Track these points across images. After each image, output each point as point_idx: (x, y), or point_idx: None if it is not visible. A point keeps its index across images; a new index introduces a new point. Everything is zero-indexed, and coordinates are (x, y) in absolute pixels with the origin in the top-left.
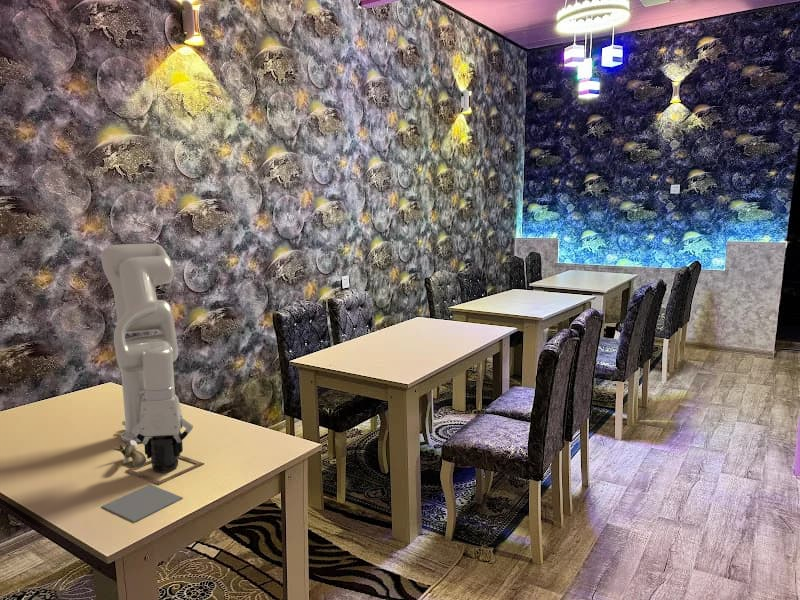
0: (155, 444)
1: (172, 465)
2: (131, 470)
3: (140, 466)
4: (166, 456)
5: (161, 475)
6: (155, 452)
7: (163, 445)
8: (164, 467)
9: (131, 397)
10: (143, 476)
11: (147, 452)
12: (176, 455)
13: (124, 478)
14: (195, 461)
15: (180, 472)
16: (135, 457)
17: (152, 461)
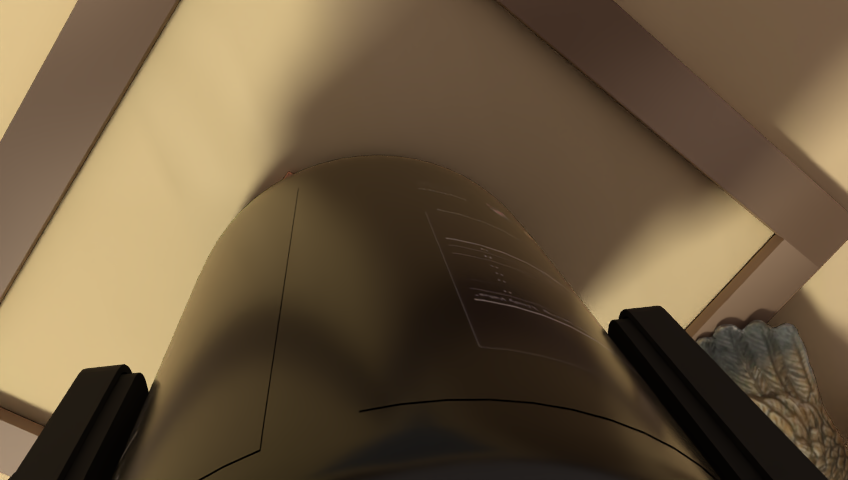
0: (569, 438)
1: (217, 249)
2: (789, 227)
3: (699, 333)
4: (259, 272)
5: (348, 84)
6: (513, 297)
7: (282, 433)
8: (320, 178)
9: None
10: (595, 28)
11: (703, 366)
12: (109, 373)
13: (840, 24)
14: (15, 457)
15: (64, 131)
16: (816, 456)
17: (545, 256)
